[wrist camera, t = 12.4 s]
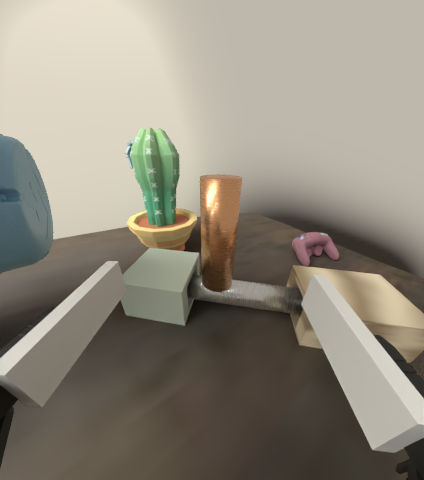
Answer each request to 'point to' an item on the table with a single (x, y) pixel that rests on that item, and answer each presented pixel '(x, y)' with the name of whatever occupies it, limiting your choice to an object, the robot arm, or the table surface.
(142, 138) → the potted cactus
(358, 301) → the block
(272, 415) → the table surface
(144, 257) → the socket block
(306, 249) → the video game controller
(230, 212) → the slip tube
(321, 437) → the table surface
